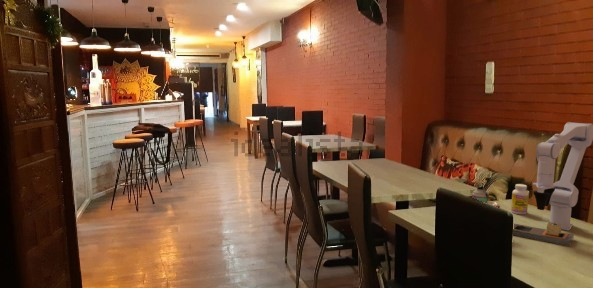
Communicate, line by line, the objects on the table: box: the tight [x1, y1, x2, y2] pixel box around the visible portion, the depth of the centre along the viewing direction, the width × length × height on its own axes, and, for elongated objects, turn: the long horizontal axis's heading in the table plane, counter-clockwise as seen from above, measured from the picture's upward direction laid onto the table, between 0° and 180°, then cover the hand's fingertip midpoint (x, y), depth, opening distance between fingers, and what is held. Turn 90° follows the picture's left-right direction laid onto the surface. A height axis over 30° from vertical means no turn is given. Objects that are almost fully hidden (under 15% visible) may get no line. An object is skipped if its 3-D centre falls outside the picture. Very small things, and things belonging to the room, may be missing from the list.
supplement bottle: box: [510, 183, 530, 215], centre depth 205 cm, size 7×7×13 cm
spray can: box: [471, 184, 489, 203], centre depth 172 cm, size 6×6×20 cm
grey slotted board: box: [512, 223, 575, 247], centre depth 174 cm, size 9×22×2 cm, turn 51°
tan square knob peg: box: [546, 221, 562, 237], centre depth 170 cm, size 4×4×6 cm
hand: (542, 207), depth 176 cm, fingers open, 7 cm apart
